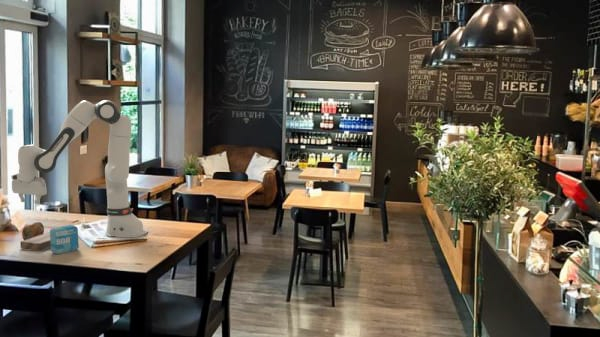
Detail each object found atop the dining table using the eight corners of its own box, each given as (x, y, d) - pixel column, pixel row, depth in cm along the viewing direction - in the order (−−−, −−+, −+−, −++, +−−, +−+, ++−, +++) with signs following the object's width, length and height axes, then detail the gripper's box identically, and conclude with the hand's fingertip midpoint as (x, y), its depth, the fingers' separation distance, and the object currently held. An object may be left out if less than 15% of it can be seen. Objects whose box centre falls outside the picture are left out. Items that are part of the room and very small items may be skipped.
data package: (55, 254, 288) (53, 230, 286) (50, 253, 291) (49, 228, 289) (79, 249, 297) (77, 225, 295) (74, 247, 300) (73, 224, 298)
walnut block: (68, 241, 313) (68, 233, 312) (40, 251, 294) (39, 243, 294) (50, 239, 317) (49, 231, 316) (20, 249, 298) (20, 241, 298)
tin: (26, 243, 307) (25, 227, 306) (21, 243, 308) (20, 227, 307) (45, 236, 322) (43, 220, 321) (39, 235, 323) (38, 220, 321)
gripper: (49, 176, 309) (50, 203, 311) (18, 174, 316) (20, 200, 318) (39, 178, 303) (41, 205, 305) (8, 175, 311) (10, 202, 313)
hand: (30, 202), depth 312 cm, fingers open, 8 cm apart
